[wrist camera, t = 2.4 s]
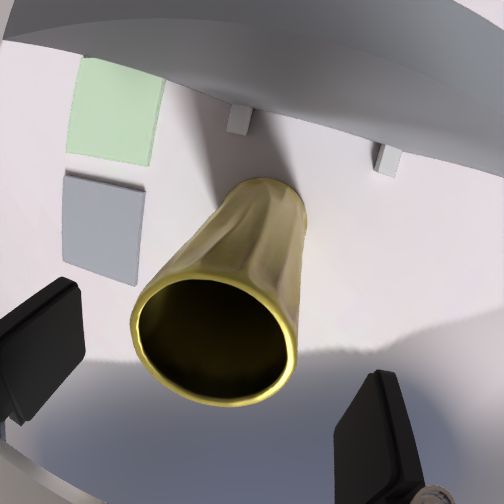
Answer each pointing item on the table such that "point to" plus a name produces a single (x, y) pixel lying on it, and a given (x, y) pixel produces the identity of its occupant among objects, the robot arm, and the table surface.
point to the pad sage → (114, 112)
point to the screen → (308, 64)
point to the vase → (228, 301)
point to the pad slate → (102, 228)
